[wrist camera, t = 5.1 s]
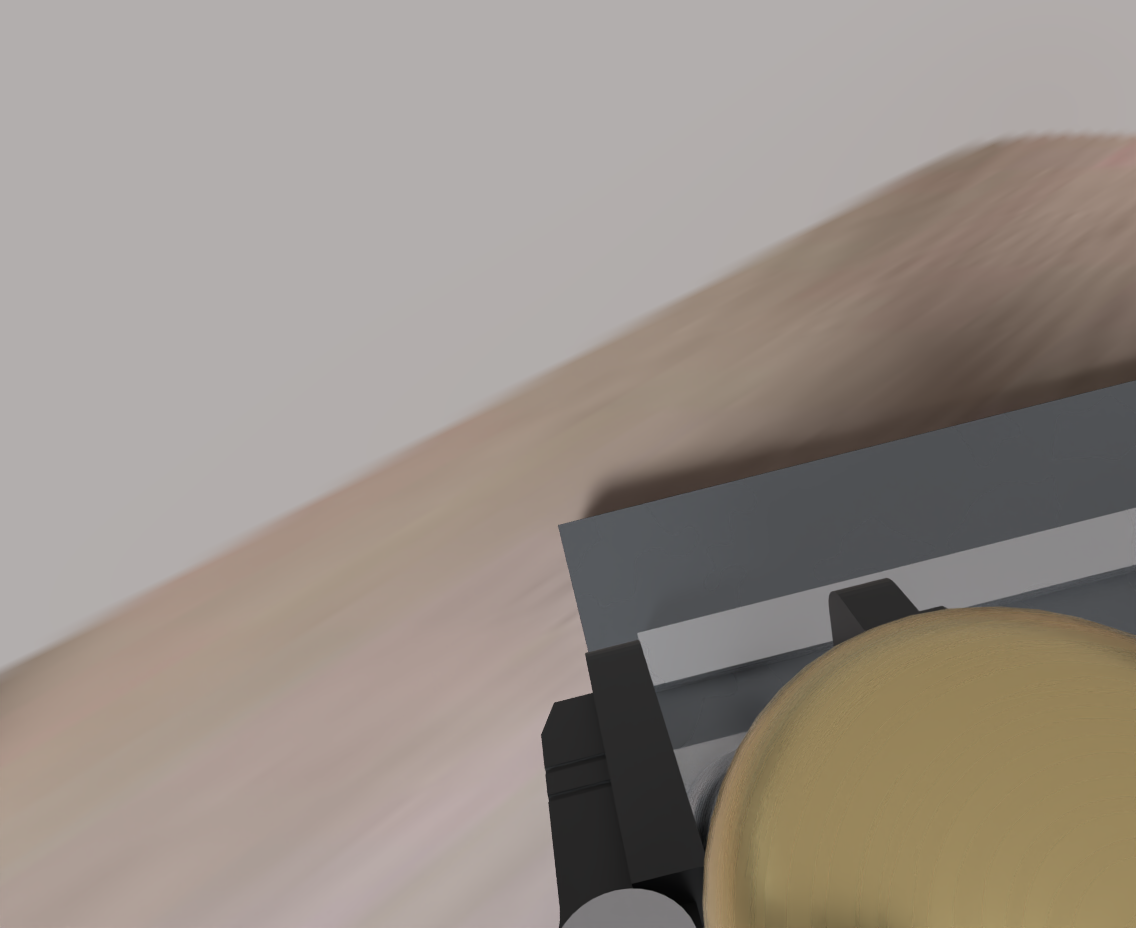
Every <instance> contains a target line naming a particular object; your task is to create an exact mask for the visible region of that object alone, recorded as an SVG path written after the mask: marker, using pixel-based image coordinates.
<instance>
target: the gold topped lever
mask: <svg viewBox="0 0 1136 928" xmlns="http://www.w3.org/2000/svg"><path fill="white" fill-rule="evenodd" d="M674 754H675V757H676V760H677V763H678V767H679V770H680V773H681V776H682V780H683V783H684V786H685V789H686V793H687V796H688V799H689V802H690V806H691V809H692V812H693V815H694V819H695V822H696V825H697V828H698V832H699V835H700V838H701V841H702V845H703V848H704V851H705V858H704V878H703V916H704V928H1136V635H1133V634H1130V633H1127V632H1124V631H1121V630H1118V629H1114V628H1111V627H1108V626H1105V625H1102V624H1099V623H1096V622H1092V621H1089V620H1086V619H1083V618H1080V617H1075V616H1070V615H1065V614H1059V613H1054V612H1049V611H1044V610H1038V609H1025V608H1011V607H971V608H950V609H943V610H937V611H932V612H926V613H921V614H915V615H910V616H907V617H904V618H901V619H898V620H895V621H892V622H889V623H886V624H883V625H880V626H877V627H874V628H872V629H869V630H867V631H865V632H863V633H861V634H859V635H857V636H855V637H853V638H851V639H849V640H847V641H844V642H842V643H840V644H838V645H836V646H834V647H833V648H831V649H830V650H829V651H827V652H826V653H824V654H823V655H821V656H820V657H818V658H817V659H815V660H814V661H812V662H811V663H809V664H808V665H806V666H805V667H804V668H803V669H802V670H801V671H800V672H798V673H797V674H796V675H795V676H794V677H793V678H792V679H791V680H790V681H789V682H787V683H786V684H785V685H784V686H783V687H782V688H781V689H780V690H779V691H778V692H777V693H776V695H775V696H774V697H773V698H772V699H771V701H770V702H769V703H768V704H767V705H766V707H765V708H764V709H763V710H762V711H761V713H760V714H759V715H758V716H757V718H756V719H755V721H754V722H753V724H752V726H751V727H750V729H749V730H748V731H747V732H743V733H739V734H735V735H731V736H727V737H723V738H719V739H715V740H711V741H707V742H703V743H699V744H695V745H691V746H687V747H684V748H680V749H676V750H674Z"/></svg>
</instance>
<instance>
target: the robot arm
mask: <svg viewBox="0 0 1136 928" xmlns="http://www.w3.org/2000/svg"><path fill="white" fill-rule="evenodd" d="M828 604H829V614H830V622H831V630H832V638H833V646H836V645H838V644H840V643H842V642H844V641H847V640H849V639H851V638H853V637H855V636H857V635H859V634H861V633H863V632H865V631H867V630H869V629H872V628H874V627H877V626H880V625H883V624H886V623H889V622H892V621H895V620H898V619H901V618H904V617H907V616H910V615H915V614H921V613H926V612H932V611H937V610H943V609H948V608H946V607H944V606H938V607H934V608H930V609H926V610H922V611H919V610H918V609H917V608H916V607H915V606H914V604H913V603H912V602H911V601H910V600H909V599H908V597H907V596H906V595H905V594H904V593H903V592H902V591H901V589H900V588H899V587H898V586H897V585H896V584H895V583H894V582H893V581H892V580H891V579H889V578H883V579H879V580H875V581H871V582H868V583H864V584H860V585H856V586H852V587H848V588H844V589H840V590H836V591H832V592H830V594H829V599H828ZM585 655H586V661H587V666H588V671H589V675H590V680H591V685H592V690H593V693H591V694H587V695H583V696H579V697H575V698H571V699H567V700H563V701H559V702H555V703H554V705H553V707H552V710H551V712H550V714H549V717H548V719H547V722H546V724H545V727H544V729H543V732H542V734H541V738H542V747H543V756H544V765H545V771H546V774H545V775H546V784H547V793H548V798H549V802H548V803H549V812H550V821H551V830H552V840H553V849H554V858H555V867H556V877H557V886H558V895H559V905H560V924H559V928H704V916H703V878H704V858H705V851H704V848H703V845H702V841H701V838H700V835H699V832H698V828H697V825H696V822H695V819H694V815H693V812H692V809H691V806H690V802H689V799H688V796H687V793H686V789H685V786H684V783H683V780H682V776H681V773H680V770H679V767H678V763H677V760H676V757H675V754H674V750H673V747H672V744H671V741H670V737H669V734H668V731H667V728H666V724H665V721H664V718H663V714H662V711H661V708H660V705H659V701H658V698H657V695H656V692H655V688H654V685H653V682H652V679H651V675H650V672H649V669H648V666H647V662H646V659H645V656H644V653H643V649H642V646H641V643H640V640H635V641H631V642H627V643H623V644H619V645H615V646H611V647H607V648H603V649H599V650H596V651H592V652H588V653H585Z"/></svg>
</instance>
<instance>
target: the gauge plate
mask: <svg viewBox="0 0 1136 928" xmlns="http://www.w3.org/2000/svg"><path fill="white" fill-rule="evenodd" d="M558 527H559V532H560V536H561V540H562V544H563V548H564V552H565V556H566V561H567V565H568V569H569V573H570V577H571V581H572V586H573V590H574V594H575V598H576V602H577V606H578V611H579V615H580V619H581V623H582V627H583V631H584V635H585V640H586V644H587V648H588V652H592V651H596V650H599V649H603V648H607V647H611V646H615V645H619V644H623V643H627V642H631V641H635V640H640V643H641V646H642V649H643V653H644V656H645V659H646V662H647V666H648V669H649V672H650V675H651V679H652V682H653V685H654V688H655V692H656V695H657V698H658V701H659V705H660V708H661V711H662V714H663V718H664V721H665V724H666V728H667V731H668V734H669V737H670V741H671V744H672V747H673V750H676V749H680V748H684V747H687V746H691V745H695V744H699V743H703V742H707V741H711V740H715V739H719V738H723V737H727V736H731V735H735V734H739V733H743V732H747V731H748V730H749V729H750V727H751V726H752V724H753V722H754V721H755V719H756V718H757V716H758V715H759V714H760V713H761V711H762V710H763V709H764V708H765V707H766V705H767V704H768V703H769V702H770V701H771V699H772V698H773V697H774V696H775V695H776V693H777V692H778V691H779V690H780V689H781V688H782V687H783V686H784V685H785V684H786V683H787V682H789V681H790V680H791V679H792V678H793V677H794V676H795V675H796V674H797V673H798V672H800V671H801V670H802V669H803V668H804V667H805V666H806V665H808V664H809V663H811V662H812V661H814V660H815V659H817V658H818V657H820V656H821V655H823V654H824V653H826V652H827V651H829V650H830V649H831V648H833V647H834V646H833V638H832V630H831V622H830V614H829V604H828V599H829V594H830V592H832V591H836V590H840V589H844V588H848V587H852V586H856V585H860V584H864V583H868V582H871V581H875V580H879V579H883V578H889V579H891V580H892V581H893V582H894V583H895V584H896V585H897V586H898V587H899V588H900V589H901V591H902V592H903V593H904V594H905V595H906V596H907V597H908V599H909V600H910V601H911V602H912V603H913V604H914V606H915V607H916V608H917V609H918V610H919V611H922V610H926V609H930V608H934V607H938V606H944V607H946V608H948V609H950V608H971V607H1011V608H1025V609H1038V610H1044V611H1049V612H1054V613H1059V614H1065V615H1070V616H1075V617H1080V618H1083V619H1086V620H1089V621H1092V622H1096V623H1099V624H1102V625H1105V626H1108V627H1111V628H1114V629H1118V630H1121V631H1124V632H1127V633H1130V634H1133V635H1136V380H1135V381H1131V382H1127V383H1123V384H1119V385H1115V386H1111V387H1107V388H1103V389H1099V390H1095V391H1091V392H1087V393H1083V394H1079V395H1075V396H1071V397H1067V398H1063V399H1059V400H1055V401H1051V402H1047V403H1043V404H1039V405H1035V406H1031V407H1027V408H1023V409H1019V410H1015V411H1011V412H1007V413H1003V414H999V415H995V416H991V417H987V418H983V419H979V420H975V421H971V422H967V423H963V424H959V425H955V426H951V427H947V428H943V429H939V430H935V431H931V432H927V433H923V434H919V435H916V436H912V437H908V438H904V439H900V440H896V441H892V442H888V443H884V444H880V445H876V446H872V447H868V448H864V449H860V450H856V451H852V452H848V453H844V454H840V455H836V456H832V457H828V458H824V459H820V460H816V461H812V462H808V463H804V464H800V465H796V466H792V467H788V468H784V469H780V470H776V471H772V472H768V473H764V474H760V475H756V476H752V477H748V478H744V479H740V480H736V481H732V482H728V483H724V484H720V485H716V486H712V487H708V488H704V489H700V490H696V491H692V492H688V493H684V494H680V495H676V496H672V497H668V498H664V499H660V500H656V501H652V502H648V503H644V504H641V505H637V506H633V507H629V508H625V509H621V510H617V511H613V512H609V513H605V514H601V515H597V516H593V517H589V518H585V519H581V520H577V521H573V522H569V523H565V524H561V525H558Z"/></svg>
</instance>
